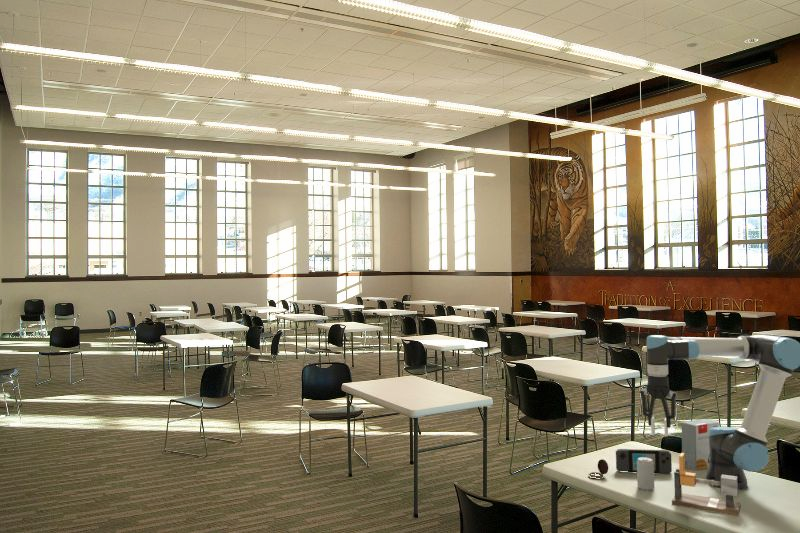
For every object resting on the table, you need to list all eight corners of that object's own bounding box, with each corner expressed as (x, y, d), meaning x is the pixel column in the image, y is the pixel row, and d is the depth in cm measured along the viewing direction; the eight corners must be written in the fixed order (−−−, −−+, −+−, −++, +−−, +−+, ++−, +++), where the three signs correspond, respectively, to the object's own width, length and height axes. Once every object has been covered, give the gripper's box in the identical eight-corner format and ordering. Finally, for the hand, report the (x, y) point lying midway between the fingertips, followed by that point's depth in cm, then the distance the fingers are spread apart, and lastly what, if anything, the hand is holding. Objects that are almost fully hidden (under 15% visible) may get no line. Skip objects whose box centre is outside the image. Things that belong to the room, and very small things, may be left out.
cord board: (676, 496, 236) (675, 465, 237) (740, 506, 224) (739, 474, 224) (671, 504, 228) (670, 472, 228) (738, 516, 216) (737, 482, 216)
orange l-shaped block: (682, 481, 233) (681, 452, 233) (696, 483, 230) (695, 454, 230) (679, 485, 229) (678, 456, 229) (694, 487, 226) (693, 458, 226)
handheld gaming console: (617, 473, 266) (616, 450, 266) (616, 471, 268) (615, 448, 269) (672, 474, 262) (671, 451, 262) (670, 472, 264) (669, 449, 264)
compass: (585, 476, 262) (584, 459, 262) (600, 473, 265) (599, 457, 265) (597, 482, 255) (596, 464, 255) (612, 479, 258) (612, 462, 258)
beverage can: (637, 490, 244) (636, 460, 244) (637, 485, 250) (636, 456, 250) (654, 491, 241) (653, 461, 242) (654, 486, 248) (653, 457, 248)
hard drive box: (696, 471, 265) (694, 425, 266) (681, 466, 272) (680, 422, 273) (720, 465, 272) (719, 421, 272) (706, 461, 279) (704, 418, 279)
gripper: (632, 374, 237) (634, 434, 237) (680, 378, 228) (682, 440, 227) (637, 372, 244) (638, 430, 243) (683, 375, 234) (685, 435, 234)
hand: (659, 434), depth 235 cm, fingers open, 4 cm apart
